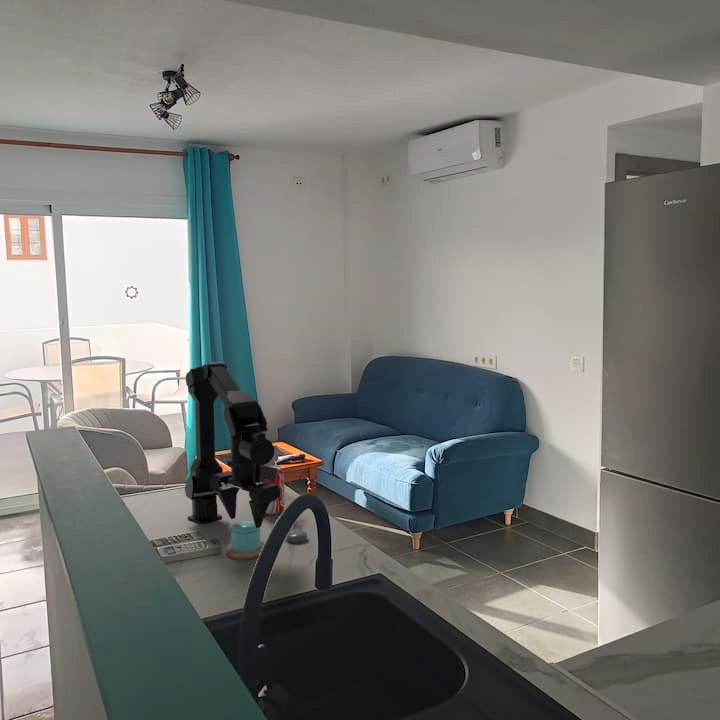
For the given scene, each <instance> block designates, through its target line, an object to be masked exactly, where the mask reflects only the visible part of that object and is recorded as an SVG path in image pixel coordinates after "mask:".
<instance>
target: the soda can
mask: <svg viewBox="0 0 720 720" xmlns="http://www.w3.org/2000/svg"><path fill="white" fill-rule="evenodd" d="M266 466H270V467H274V468H277V469H278V472H277V476H276V480H275V482H272V481H271V480H266V479H264V482H260V483H259V482H257V485H259V484H262V483H266V482H269V483H273V484H276V485H278V486H279V487H280V488H281V497H280V498H277V499H276V500H275V501H272V502H271V503H270V504H269V506H268V508H267V510H266V513H265V515H267V514H268V515H269V516H270V515H271V516H272V515H278V514H280V513H281V512H283V510H284V509H285V474H284V472H283V470H282V467H281V466H280V465H277V464H275V465H274V464H269V465H267V464H266Z"/></svg>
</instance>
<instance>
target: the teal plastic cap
mask: <svg viewBox="0 0 720 720" xmlns="http://www.w3.org/2000/svg"><path fill="white" fill-rule="evenodd" d="M230 531H231V532H230V534H231V536H230V538H231V543H232V549H234V550H235V551H237V552H250V551H254V550H257V549H258V548H259V547H260V546H261V542H262V541H261V527H260V528H256V526H255V523H254V521H251V520H250V521H249V520H245V521H239V522H236V523H234V524H233V525H232V526H231V530H230ZM260 541H261V542H260Z"/></svg>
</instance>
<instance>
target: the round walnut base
mask: <svg viewBox="0 0 720 720" xmlns="http://www.w3.org/2000/svg"><path fill="white" fill-rule="evenodd" d="M260 542H261V546H260V547H259V548H258V549H257V550H254V551H250V552H237V551H235V550H234V549H232V542H231V543H230V542H229V543H228V544H227V545H226V547H225V554H226V557H228V558H230V559H233V560H240V561H241V560H242V561H243V560H244V561H245V560H252V559H257V558H259V557H258V556H259V553H260V552H261V549H262V547H263V545H264V543H265V542H263V541H261V540H260Z"/></svg>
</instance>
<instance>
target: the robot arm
mask: <svg viewBox="0 0 720 720" xmlns="http://www.w3.org/2000/svg"><path fill="white" fill-rule="evenodd" d="M185 374H186V375H185V384H186V386H187V392H188V394H189V396H191V398H192V399H193V402H194V411H195V413H194V415H195V416H194V418H195V419H194V420H195V450H196V451H195V453H196V454H195V455H196V457H195V460H194V461H193V463H192V465H191V466H190V468H189V469H190V471H189V477H188V479H187V481H186V483H185V486H184V492H185V497H187V498H188V499H190V501H191V507H192V515H188V516H187V519H188V520H189V521H192V522H193V521H194V522H196V523H199V524H202V525H203V524H206V523H209V522H210V523H211V522H213V521H215V520H219V519H222V517H223V516H222V515H221V514H218V502H217V498H219V500H220V501H221V503H222V505H223V507H224V509H225V511H226V513H227V514H228V516H229V518H230V519H231V520H234V519H236V515H237V514H236V513H237V498H238V497H237V494H238V492H239V491H240V490H243V491H244V492H245V491H246V492H248V496H249V498H250V500H248V503H249V507H250V512H251V515H252V519H253V522H254V523H255V526H256V528H260V529H261V527H262V525H263V521H264V518H265V515H266V514H265V513H266V510H267V508H268V506H269V504H270V503H271V502H272V501H275V500H276V499H277V498H280V497H281V488H280V487H279V486H278V485H276V484H273V483H269V482H266V483H262V484H259V485H258V482H259V483H260V482H264V479H266V480H271V481H272V482H275V480H276V476H277V472H278V469H277V468H274V467H270V466H267V464H269V463H270V462H271V461H272V460H273V458H274V456H275V451H276V450H275V447H274V445H273V443H272V441H270V440H269V439H267V438H266V433H265V432H268V422H267V418H266V417H265V414H264V411H263V410H262V408H261V405H260V403H259V402H258V400H257V399H255V397H253V396H252V395H251V394H249V393H245V392H244V391H242V390H241V388H240V387H239V385H238V383H237V382H236V381H235V379H234V378H233V376H232V375H231V374H230V372H229V370H228V367H227V364H226V363H225V362H222V361H218V362H217V361H214V362H207V363H205V364H203V365H201V366H198V367H194V368H190V369H189V371H188V372H187V373H185ZM218 397H219V399H220V400H221V402H222V404H223V406H224V409H223V417H224V421H225V423H226V425H227V427H228V433H229V434H230V459H228V460H227V461H226V464H227V466H230V467H231V468H230V469H231V470H230V471H229V470H227V471H224V470H223V467H222V466H221V465H220V462H218V460H217V459H216V443H215V442H216V436H215V435H216V434H215V429H216V428H215V402H216V400H217V398H218Z"/></svg>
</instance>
